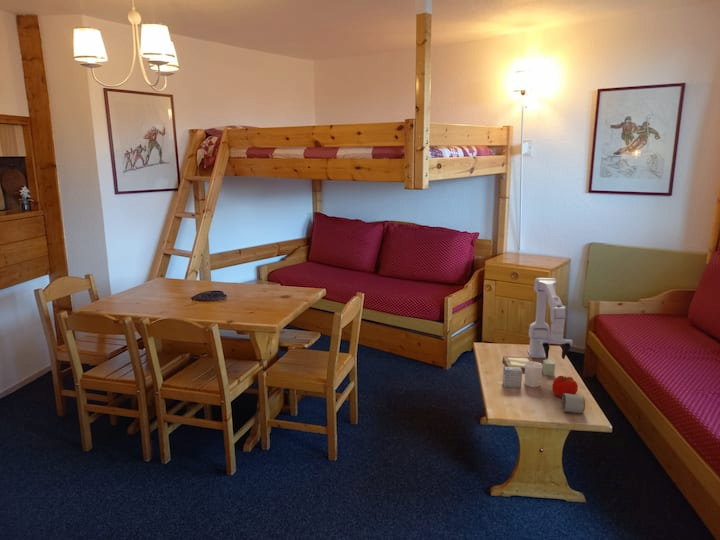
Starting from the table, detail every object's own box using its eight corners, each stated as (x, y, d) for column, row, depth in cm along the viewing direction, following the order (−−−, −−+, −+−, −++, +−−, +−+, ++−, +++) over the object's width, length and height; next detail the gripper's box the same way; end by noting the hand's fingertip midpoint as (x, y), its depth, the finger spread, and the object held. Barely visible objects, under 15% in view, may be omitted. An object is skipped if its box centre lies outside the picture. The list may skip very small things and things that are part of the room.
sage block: (542, 371, 257) (543, 360, 256) (551, 371, 257) (552, 360, 256) (544, 375, 253) (545, 363, 252) (554, 375, 253) (555, 363, 251)
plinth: (502, 360, 271) (503, 356, 270) (529, 360, 270) (530, 356, 269) (508, 371, 257) (508, 367, 256) (537, 372, 256) (537, 367, 256)
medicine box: (519, 384, 243) (520, 366, 241) (521, 388, 239) (522, 370, 237) (502, 383, 244) (503, 366, 242) (503, 387, 240) (505, 370, 238)
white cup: (520, 384, 243) (522, 364, 240) (528, 379, 248) (529, 359, 246) (536, 389, 238) (538, 369, 235) (544, 384, 243) (545, 364, 241)
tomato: (581, 400, 227) (583, 381, 225) (559, 402, 226) (560, 384, 224) (568, 389, 238) (569, 372, 236) (546, 391, 236) (547, 373, 234)
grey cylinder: (585, 416, 213) (586, 399, 212) (564, 414, 215) (565, 397, 213) (579, 404, 224) (580, 388, 222) (559, 403, 225) (560, 386, 223)
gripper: (543, 333, 241) (541, 360, 244) (575, 334, 240) (573, 361, 243) (539, 328, 248) (537, 355, 251) (570, 329, 247) (568, 355, 250)
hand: (554, 358), depth 248 cm, fingers open, 7 cm apart
